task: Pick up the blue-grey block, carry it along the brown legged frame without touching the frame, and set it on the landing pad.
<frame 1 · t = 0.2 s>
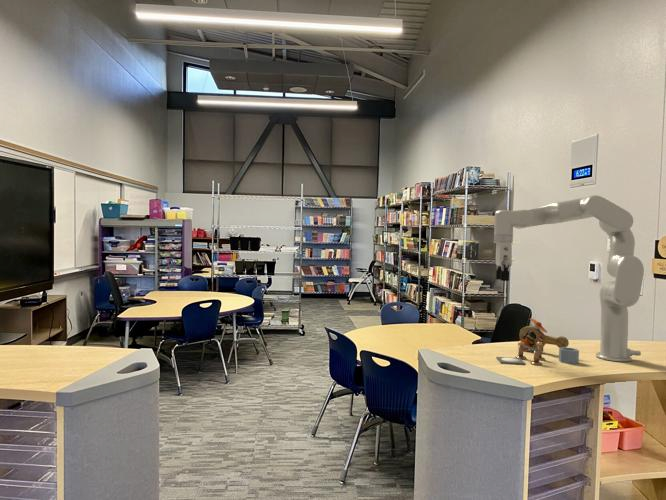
hand: (502, 280, 198), 31 cm above the table, tool pointing down, fingers open, 9 cm apart
blue-grey block: (568, 361, 184), on the table
landing pad: (510, 361, 182), on the table
toy helicopter: (540, 352, 201), on the table
brown legged frame: (533, 361, 184), on the table
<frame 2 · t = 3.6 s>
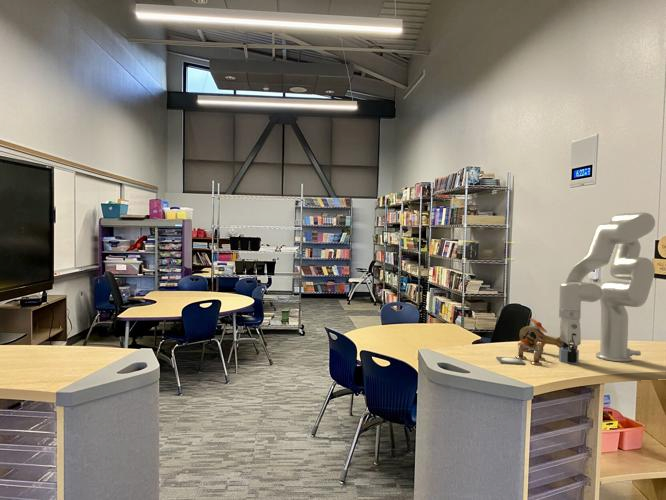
hand: (568, 359, 184), 1 cm above the table, tool pointing down, fingers closed on blue-grey block, 6 cm apart
blue-grey block: (568, 361, 184), on the table, touching gripper
everything else where it was.
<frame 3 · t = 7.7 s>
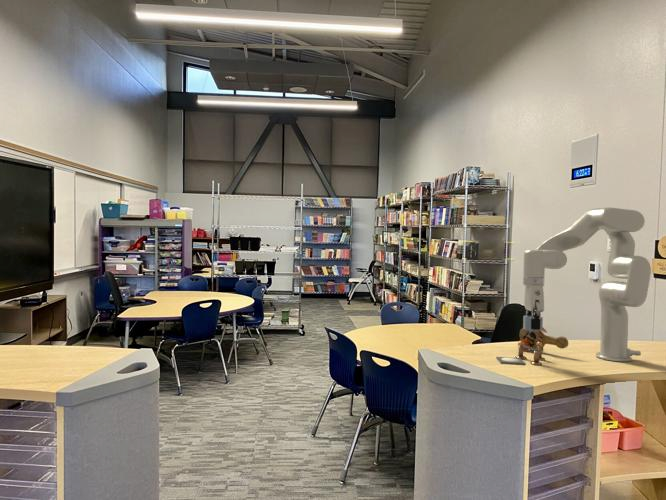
hand: (532, 327, 182), 14 cm above the table, tool pointing down, fingers closed on blue-grey block, 6 cm apart
blue-grey block: (532, 329, 182), point 13 cm above the table, touching gripper
everything else where it was.
when the fingers open (3 cm above the table, at t = 11.7 s): blue-grey block drops 1 cm, resting on landing pad.
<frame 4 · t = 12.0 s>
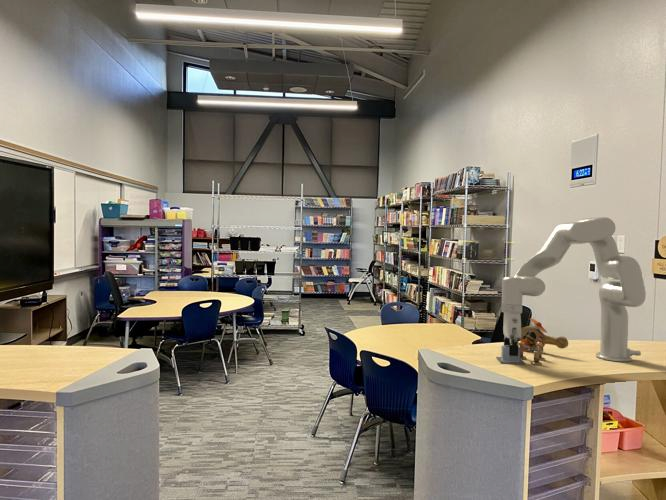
hand: (510, 352, 182), 3 cm above the table, tool pointing down, fingers open, 8 cm apart
blue-grey block: (510, 359, 182), point 1 cm above the table, touching landing pad
everything else where it was.
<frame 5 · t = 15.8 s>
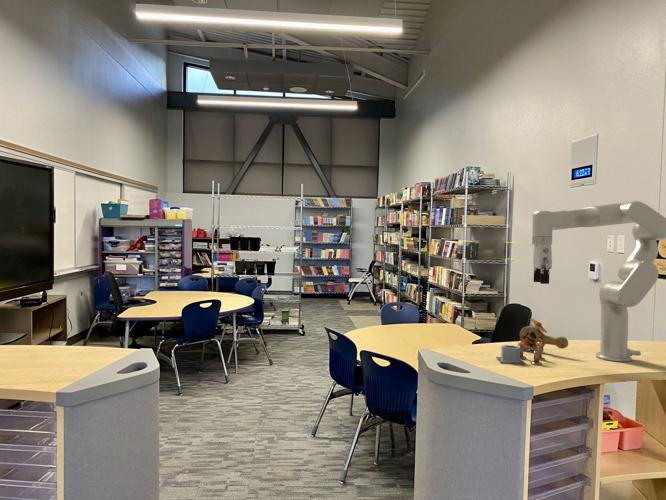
hand: (541, 282, 192), 30 cm above the table, tool pointing down, fingers open, 9 cm apart
nothing on the table moved.
at the end: blue-grey block inside the target area on the landing pad (0.1 cm from its centre), point 0.7 cm above the landing pad's base; blue-grey block touching landing pad; the gripper is holding nothing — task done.
